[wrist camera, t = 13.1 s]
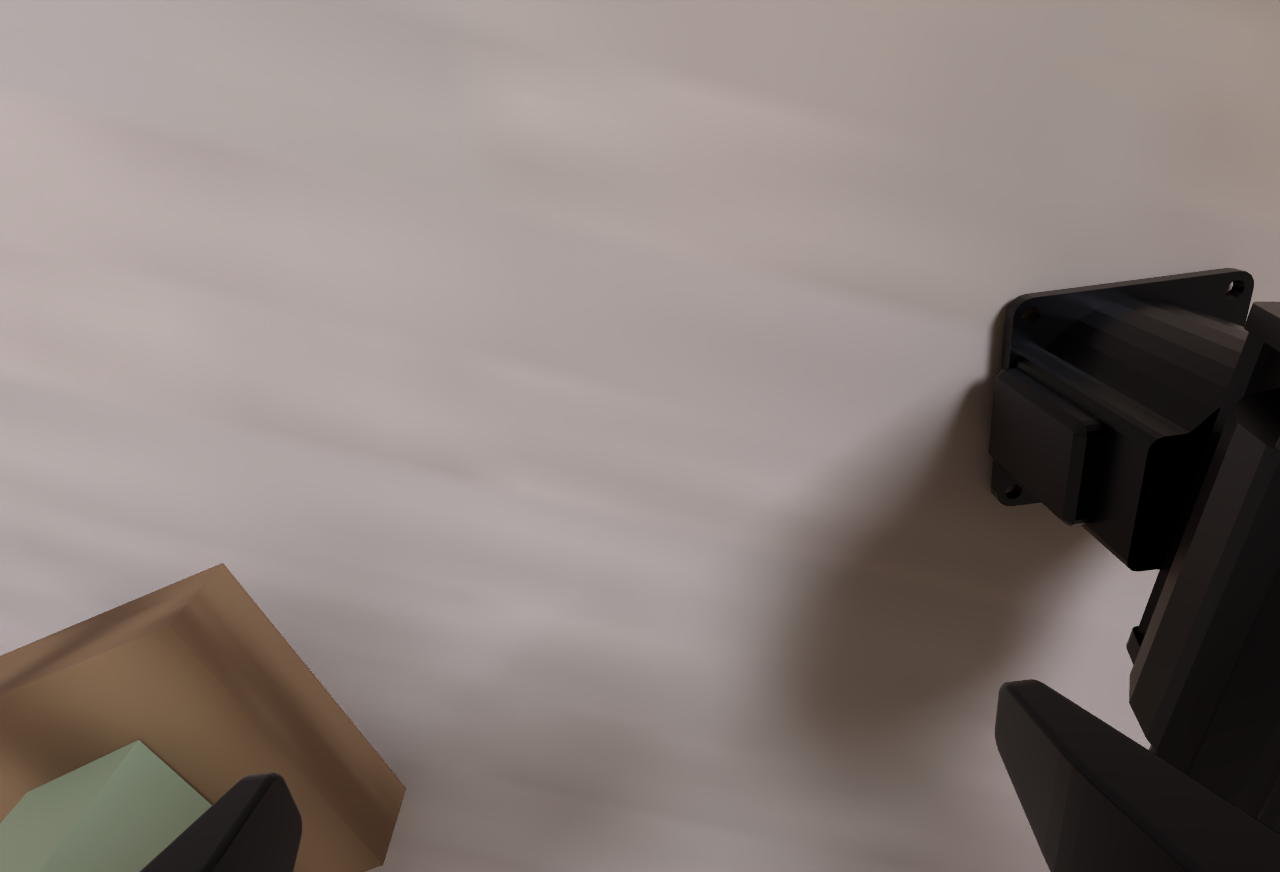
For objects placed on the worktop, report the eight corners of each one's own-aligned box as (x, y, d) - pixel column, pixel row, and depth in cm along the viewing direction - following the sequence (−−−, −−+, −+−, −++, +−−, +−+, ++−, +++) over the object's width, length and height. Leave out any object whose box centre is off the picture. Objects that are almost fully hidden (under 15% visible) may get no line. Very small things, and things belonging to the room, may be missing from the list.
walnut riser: (230, 554, 23) (169, 625, 20) (409, 777, 28) (382, 865, 25) (-43, 668, 25) (-139, 751, 22) (167, 863, 29) (113, 956, 26)
